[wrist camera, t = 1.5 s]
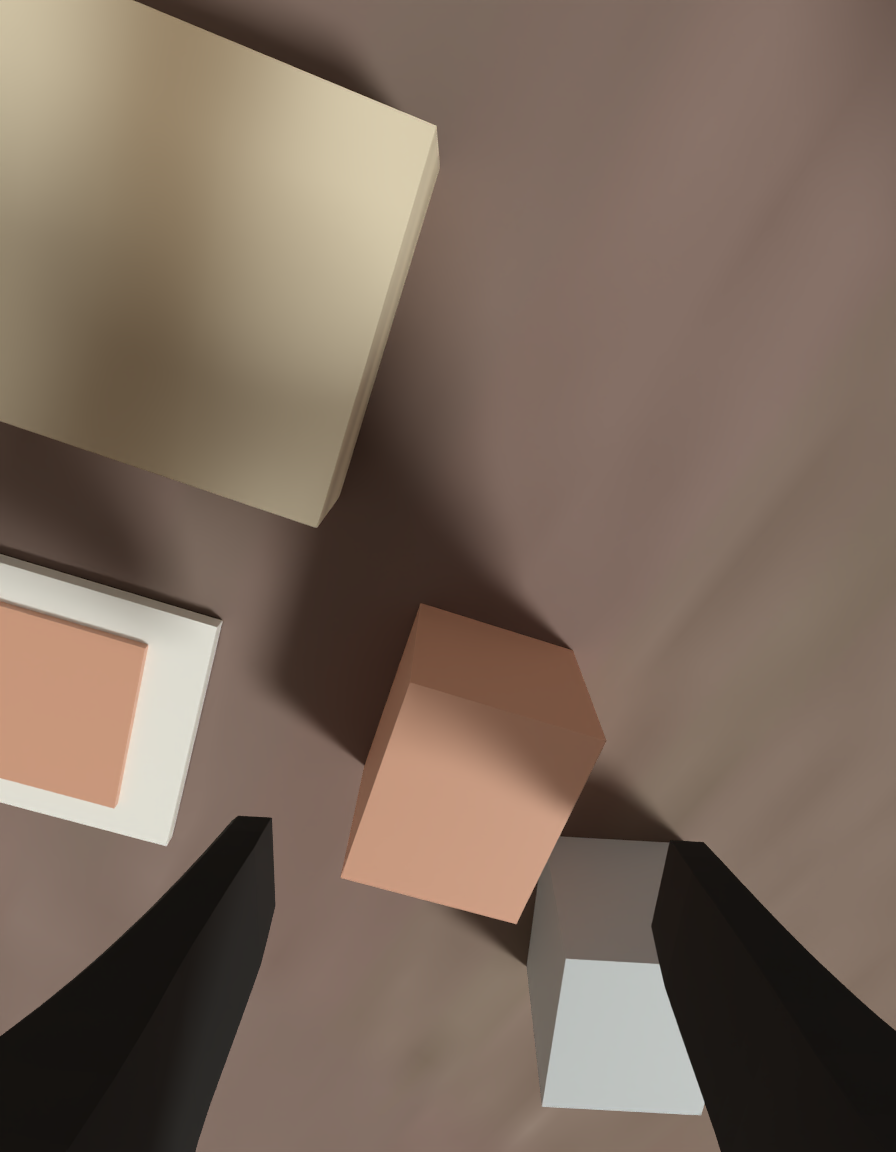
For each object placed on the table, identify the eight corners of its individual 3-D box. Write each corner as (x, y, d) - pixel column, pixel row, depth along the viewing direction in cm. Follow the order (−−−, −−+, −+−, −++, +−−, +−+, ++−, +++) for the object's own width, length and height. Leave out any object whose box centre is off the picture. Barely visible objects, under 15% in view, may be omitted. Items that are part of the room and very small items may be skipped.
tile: (222, 620, 16) (214, 630, 16) (172, 835, 18) (163, 851, 18) (-68, 533, 15) (-88, 540, 15) (-82, 768, 18) (-100, 782, 17)
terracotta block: (572, 648, 16) (606, 741, 13) (503, 802, 18) (516, 924, 14) (420, 601, 16) (410, 682, 12) (365, 762, 18) (340, 877, 14)
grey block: (685, 840, 18) (743, 968, 15) (655, 970, 20) (701, 1115, 16) (543, 832, 18) (565, 958, 15) (526, 963, 20) (542, 1106, 16)
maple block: (440, 172, 13) (436, 126, 10) (341, 493, 15) (316, 528, 13) (92, 29, 12) (-14, -62, 10) (42, 390, 15) (-56, 402, 12)
